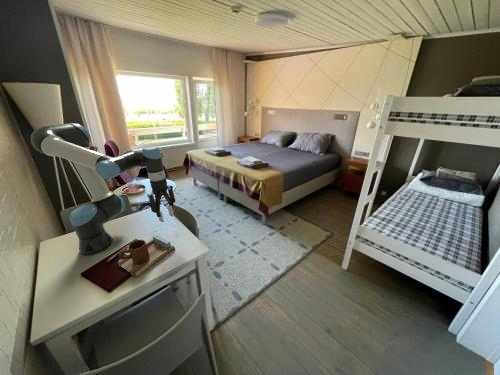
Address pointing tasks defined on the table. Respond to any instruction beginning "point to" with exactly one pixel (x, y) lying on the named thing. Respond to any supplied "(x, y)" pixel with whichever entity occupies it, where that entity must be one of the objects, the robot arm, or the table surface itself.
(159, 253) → the housing base
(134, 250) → the mug
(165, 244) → the bar
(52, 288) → the table surface
